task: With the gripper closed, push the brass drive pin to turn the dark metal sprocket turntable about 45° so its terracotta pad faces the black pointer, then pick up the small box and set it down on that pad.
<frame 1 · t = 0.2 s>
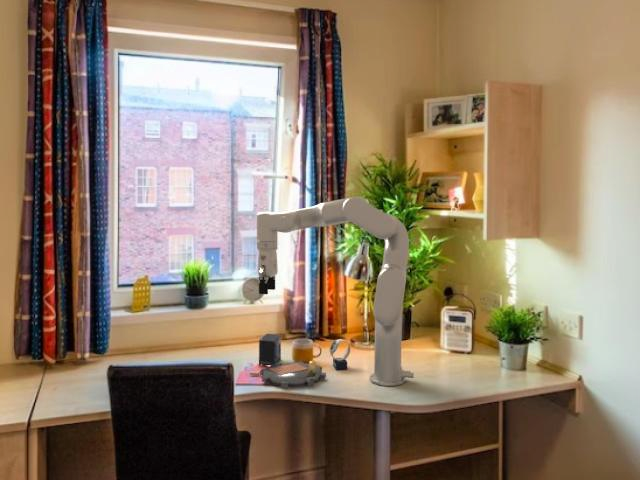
hand: (267, 291, 205), 31 cm above the table, fingers open, 9 cm apart
sprocket: (292, 367, 202), point 4 cm above the table, hinge at 0.0°
small box: (270, 363, 220), on the table
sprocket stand: (292, 378, 202), on the table
watch: (339, 368, 214), on the table
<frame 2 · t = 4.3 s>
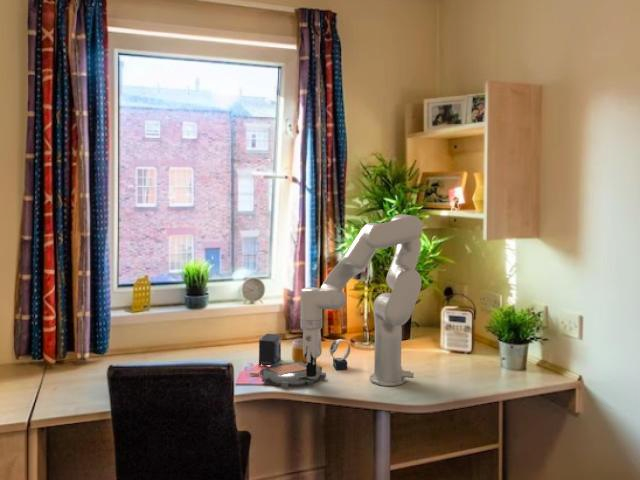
hand: (311, 375, 193), 4 cm above the table, fingers closed
sprocket: (292, 367, 202), point 4 cm above the table, hinge at 0.1°, touching gripper
everything else where it was.
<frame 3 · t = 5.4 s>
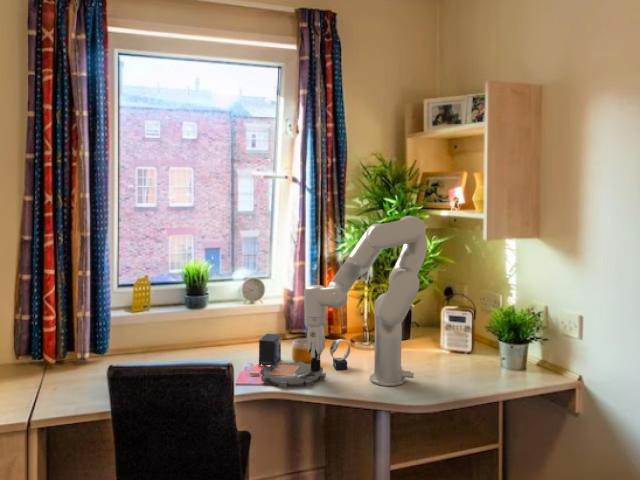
hand: (315, 370, 199), 4 cm above the table, fingers closed
sprocket: (292, 367, 202), point 4 cm above the table, hinge at 42.3°, touching gripper
everything else where it was.
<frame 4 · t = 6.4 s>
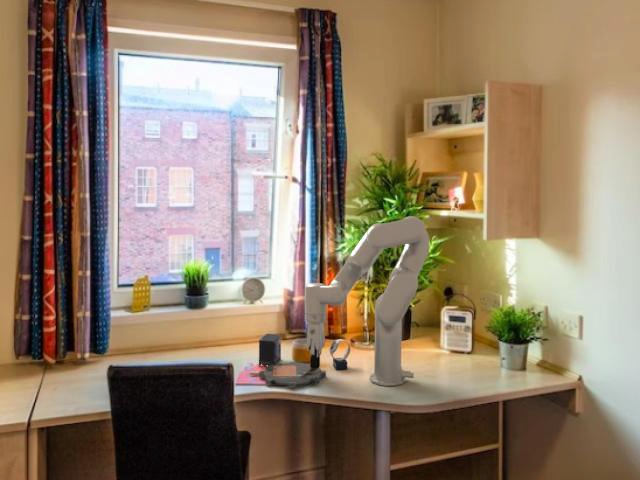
hand: (315, 367, 202), 4 cm above the table, fingers closed
sprocket: (292, 367, 202), point 4 cm above the table, hinge at 57.8°, touching gripper
everything else where it was.
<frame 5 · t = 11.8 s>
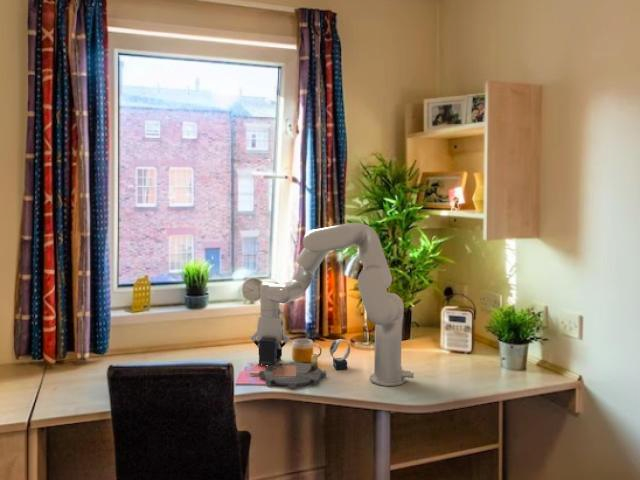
hand: (270, 357, 220), 2 cm above the table, fingers closed on small box, 6 cm apart
sprocket: (292, 367, 202), point 4 cm above the table, hinge at 57.9°
small box: (270, 363, 220), on the table, touching gripper
everything else where it was.
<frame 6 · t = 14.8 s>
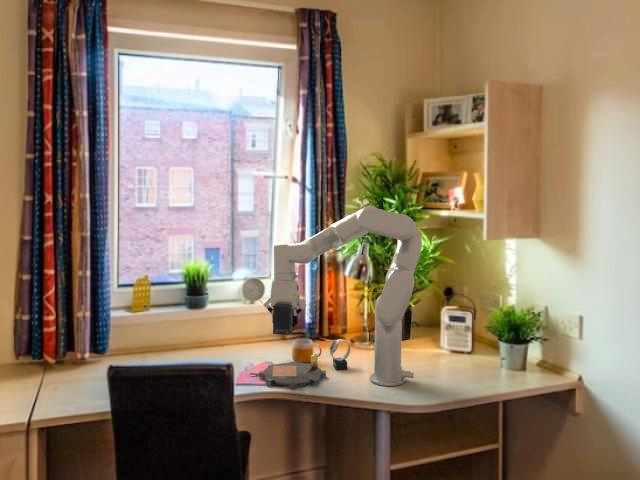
hand: (285, 325, 201), 19 cm above the table, fingers closed on small box, 6 cm apart
small box: (285, 331, 201), point 17 cm above the table, touching gripper
everything else where it was.
when the fingers open (6 cm above the table, at t = 17.8 s): small box drops 1 cm, resting on sprocket.
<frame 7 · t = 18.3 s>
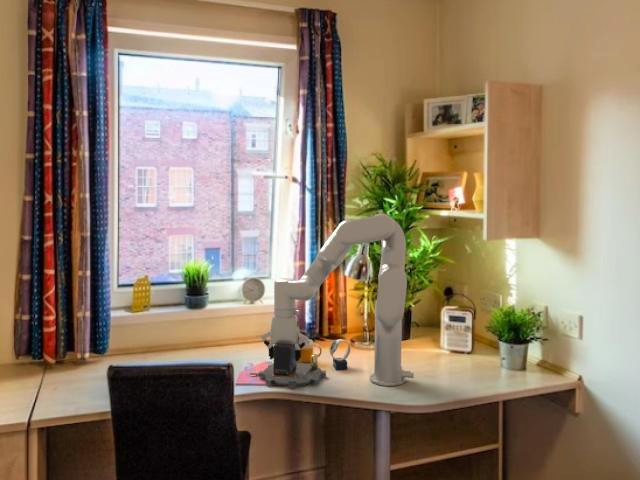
hand: (284, 359, 202), 7 cm above the table, fingers open, 9 cm apart
sprocket: (292, 367, 202), point 4 cm above the table, hinge at 57.8°, touching small box
small box: (285, 370, 202), point 2 cm above the table, touching sprocket
everything else where it was.
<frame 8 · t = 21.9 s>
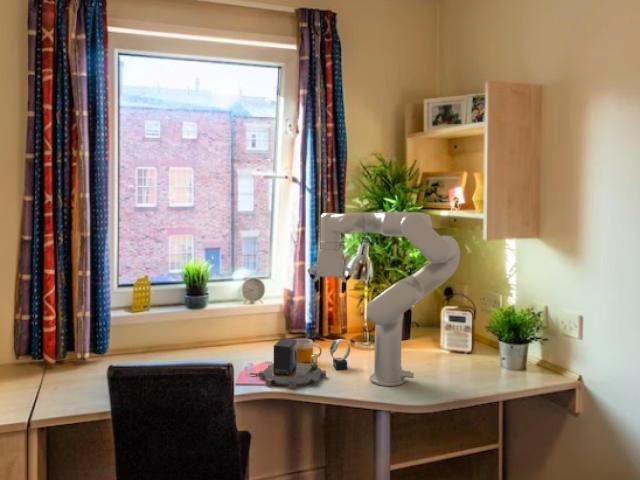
hand: (330, 292, 207), 30 cm above the table, fingers open, 9 cm apart
nothing on the table moved.
at the end: sprocket at +58° (first picture: +0°); small box inside the target area on the sprocket (0.6 cm from its centre), point 2.5 cm above the sprocket's base; small box tilted 0° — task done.
